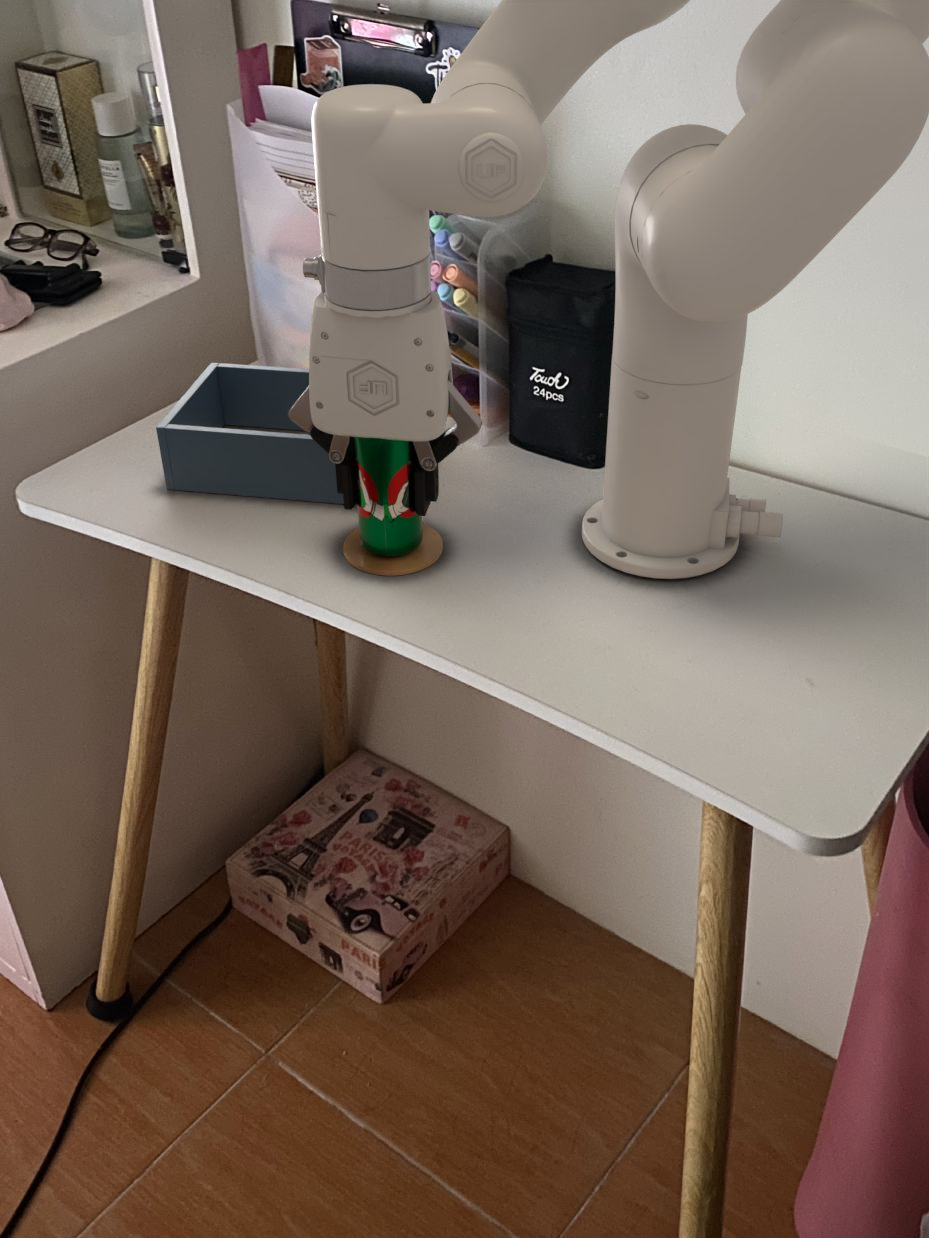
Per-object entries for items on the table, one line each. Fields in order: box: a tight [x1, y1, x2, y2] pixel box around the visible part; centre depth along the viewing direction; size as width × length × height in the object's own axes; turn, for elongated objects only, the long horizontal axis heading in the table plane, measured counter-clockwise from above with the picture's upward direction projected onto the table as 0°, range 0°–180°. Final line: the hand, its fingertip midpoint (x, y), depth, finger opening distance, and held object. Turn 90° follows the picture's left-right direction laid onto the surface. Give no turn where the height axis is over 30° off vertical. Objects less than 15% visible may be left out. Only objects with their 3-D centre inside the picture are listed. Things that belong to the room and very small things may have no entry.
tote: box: [155, 362, 357, 506], centre depth 109 cm, size 18×14×6 cm
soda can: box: [352, 437, 423, 558], centre depth 95 cm, size 5×5×12 cm
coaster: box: [342, 522, 444, 577], centre depth 98 cm, size 8×8×1 cm
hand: (388, 502), depth 96 cm, fingers closed on soda can, 5 cm apart
